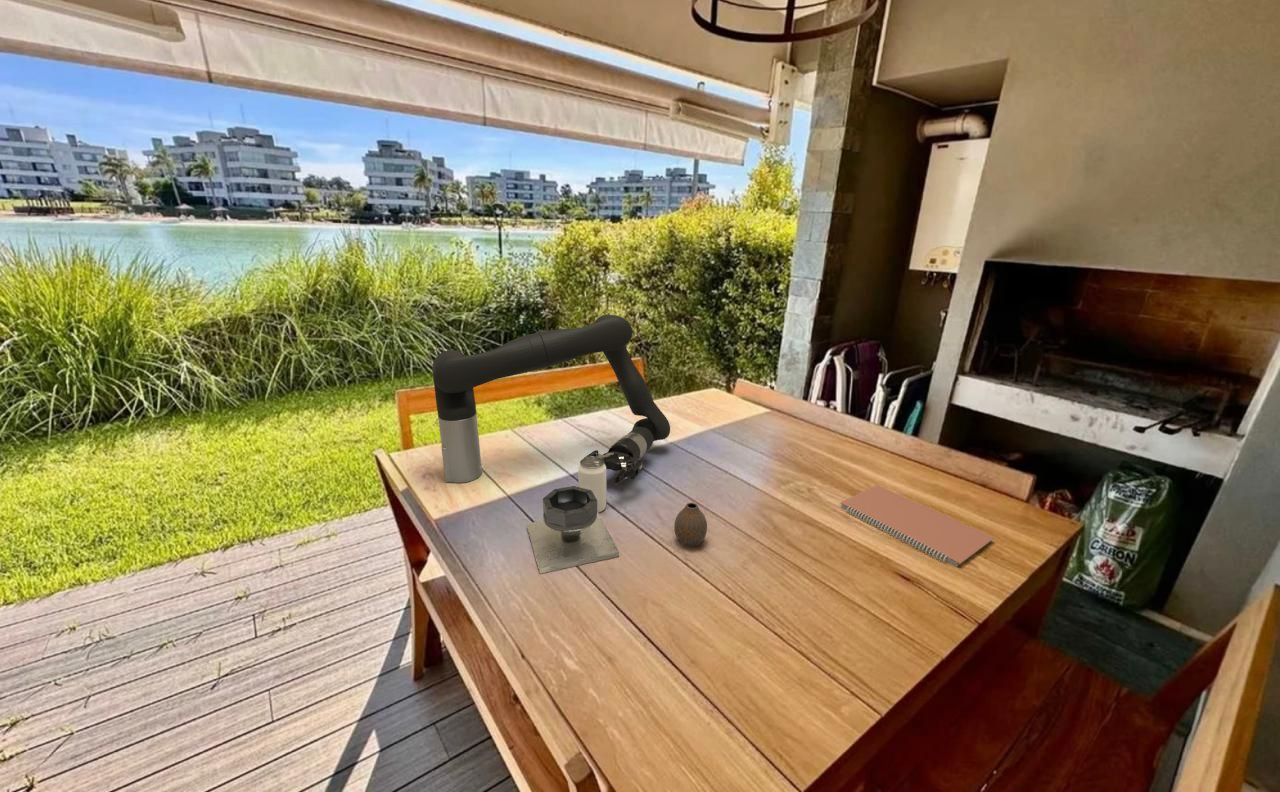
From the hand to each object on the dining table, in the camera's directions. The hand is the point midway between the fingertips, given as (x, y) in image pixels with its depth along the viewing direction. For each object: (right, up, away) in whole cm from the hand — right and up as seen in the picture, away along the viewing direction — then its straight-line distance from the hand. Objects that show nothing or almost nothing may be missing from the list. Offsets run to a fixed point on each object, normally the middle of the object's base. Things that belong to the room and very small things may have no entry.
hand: (599, 476), depth 118 cm
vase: (+20, -12, -12) cm, 26 cm away
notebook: (+72, -11, -4) cm, 73 cm away
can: (-2, -7, 0) cm, 8 cm away
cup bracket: (-5, -12, -13) cm, 18 cm away
